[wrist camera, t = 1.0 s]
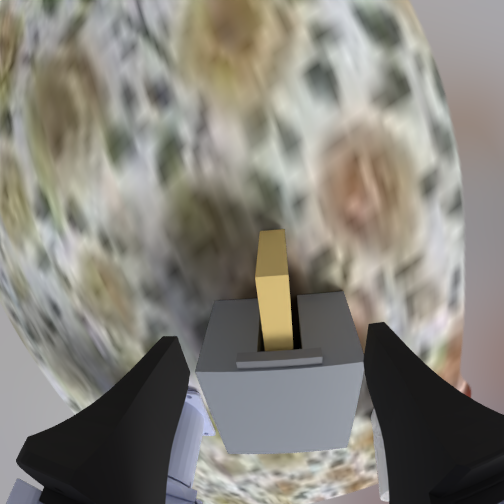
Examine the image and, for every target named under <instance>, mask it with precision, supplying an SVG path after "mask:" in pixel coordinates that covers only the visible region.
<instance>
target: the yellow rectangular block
mask: <svg viewBox="0 0 504 504" xmlns="http://www.w3.org/2000/svg"><path fill="white" fill-rule="evenodd" d="M255 281H256V288H257V295H258V303H259V310H260V317H261V324H262V332H263V339H264V346H265V352H266V351H282V350H293V335H292V319H291V303H290V289H289V275H288V263H287V252H286V240H285V230H284V229H279V230H268V231H260V235H259V244H258V254H257V264H256V273H255Z"/></svg>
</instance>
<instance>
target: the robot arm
mask: <svg viewBox="0 0 504 504" xmlns="http://www.w3.org/2000/svg"><path fill="white" fill-rule="evenodd" d="M363 364H364V370H365V375H366V381H367V386H368V389H369V392H370V396H371V399H372V402H373V406H374V409H375V412H376V416H377V419H378V422H379V426H380V429H381V433H382V438H383V443H384V449H385V456H386V465H387V474H388V486H389V504H504V415H502V414H500V413H498V412H496V411H494V410H491V409H489V408H487V407H485V406H483V405H482V404H480V403H478V402H476V401H474V400H473V399H471V398H470V397H468V396H466V395H465V394H463V393H461V392H460V391H458V390H457V389H456V388H454V387H453V386H451V385H450V384H449V383H447V382H446V381H445V380H443V379H442V378H441V377H440V376H438V375H437V374H436V373H435V372H434V371H433V370H431V369H430V368H429V367H428V366H427V365H426V364H425V363H424V362H423V361H422V360H421V359H420V358H418V357H417V356H416V355H415V354H414V353H413V352H412V351H411V350H410V349H409V348H408V347H407V346H406V345H405V343H404V342H403V341H402V340H401V339H400V338H399V337H398V336H397V335H396V334H395V333H394V332H393V331H392V330H391V329H390V328H389V326H388V325H387V324H386V323H385V322H380V323H373V324H369V325H368V333H367V340H366V347H365V354H364V360H363ZM189 376H190V371H189V368H188V365H187V363H186V360H185V357H184V354H183V352H182V349H181V346H180V343H179V340H178V338H177V336H163V337H162V338H161V339H160V340H159V341H158V342H157V343H156V344H155V345H154V346H153V347H152V348H151V349H150V350H149V351H148V353H147V354H146V355H145V356H144V357H143V358H142V359H141V360H140V361H139V362H138V363H137V364H136V365H135V366H134V367H133V368H132V369H131V370H130V371H129V372H128V373H127V374H126V375H125V376H124V377H123V378H122V379H121V380H120V381H119V382H118V383H117V384H116V385H115V386H113V387H112V388H111V389H110V390H109V391H108V392H107V393H105V394H104V395H103V396H102V397H100V398H99V399H98V400H96V401H95V402H94V403H92V404H91V405H90V406H88V407H86V408H85V409H83V410H82V411H80V412H79V413H77V414H76V415H74V416H73V417H71V418H69V419H67V420H65V421H64V422H62V423H60V424H58V425H56V426H54V427H52V428H49V429H47V430H45V431H42V432H40V433H37V434H35V435H32V436H29V437H27V439H26V441H25V443H24V445H23V447H22V449H21V451H20V453H19V455H18V457H17V459H16V462H17V464H18V465H19V467H20V468H21V469H23V470H24V471H25V472H26V473H27V474H29V475H30V476H31V477H32V478H34V479H35V480H36V481H38V482H39V483H40V484H42V485H43V486H44V489H43V491H41V490H39V489H37V488H35V487H34V486H32V485H30V484H28V483H26V482H24V481H23V480H21V479H17V480H16V482H15V484H14V486H13V489H12V491H11V493H10V496H9V498H8V500H7V503H6V504H203V503H202V501H201V500H199V499H196V495H197V490H193V489H192V485H193V480H194V475H195V470H196V465H197V460H198V455H199V450H200V444H201V439H202V435H205V436H214V435H215V429H214V427H213V425H212V422H211V420H210V418H209V415H208V413H207V410H206V408H205V406H204V403H203V401H202V398H201V396H200V394H199V393H198V392H196V391H187V390H188V384H189Z"/></svg>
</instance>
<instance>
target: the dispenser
mask: <svg viewBox="0 0 504 504" xmlns="http://www.w3.org/2000/svg"><path fill="white" fill-rule="evenodd" d="M297 305H298V325H299V349H296V350H282V351H266V352H265V346H264V339H263V332H262V324H261V317H260V310H259V303H258V298H254V299H239V300H222V301H215V302H214V306H213V309H212V313H211V316H210V320H209V323H208V327H207V331H206V334H205V338H204V341H203V345H202V349H201V352H200V356H199V360H198V363H197V367H196V371H195V373H196V375H197V378H198V381H199V384H200V386H201V389H202V391H203V394H204V397H205V399H206V402H207V404H208V407H209V409H210V412H211V414H212V417H213V419H214V422H215V424H216V426H217V429H218V431H219V434H220V436H221V438H222V441H223V443H224V445H225V447H226V450H227V452H228V453H229V454H277V453H297V452H310V451H321V450H330V449H339V448H346V447H347V445H348V441H349V437H350V433H351V429H352V425H353V421H354V417H355V412H356V408H357V403H358V399H359V394H360V389H361V384H362V379H363V373H364V364H363V360H364V354H363V351H362V347H361V344H360V341H359V338H358V334H357V331H356V328H355V325H354V322H353V319H352V316H351V312H350V309H349V306H348V303H347V300H346V297H345V294H344V291H339V292H329V293H318V294H307V295H297Z"/></svg>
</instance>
